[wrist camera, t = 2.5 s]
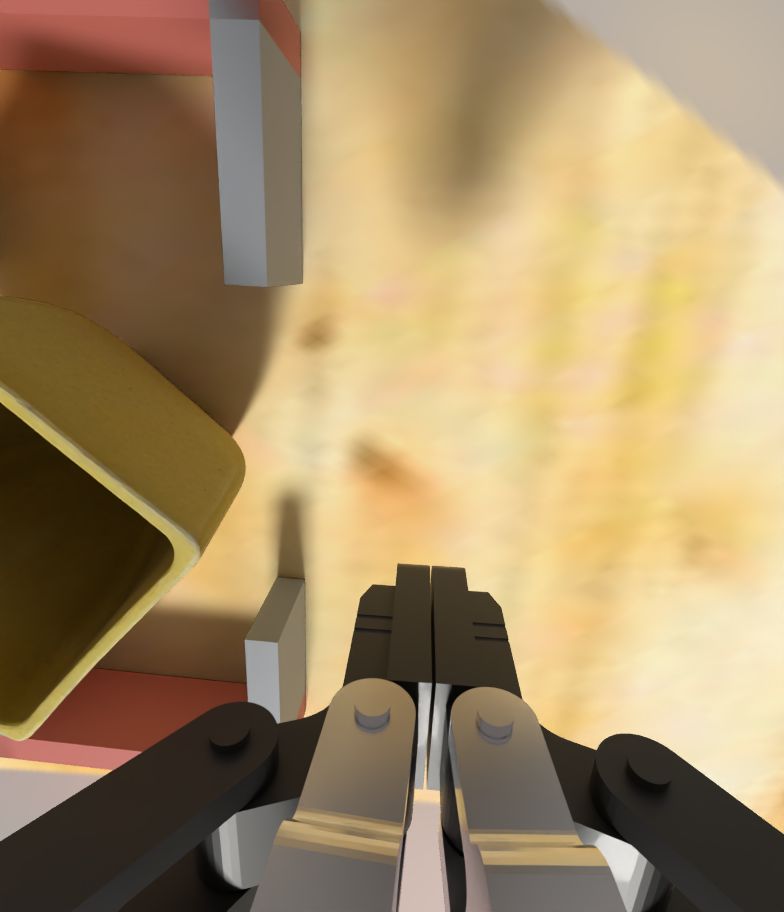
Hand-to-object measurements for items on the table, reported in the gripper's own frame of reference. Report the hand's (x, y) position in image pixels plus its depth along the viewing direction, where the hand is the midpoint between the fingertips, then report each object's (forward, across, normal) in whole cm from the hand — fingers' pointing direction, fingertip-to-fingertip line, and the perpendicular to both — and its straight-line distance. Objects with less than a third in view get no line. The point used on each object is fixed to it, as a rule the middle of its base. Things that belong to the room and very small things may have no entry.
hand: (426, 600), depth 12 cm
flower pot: (+9, +11, 0) cm, 14 cm away
